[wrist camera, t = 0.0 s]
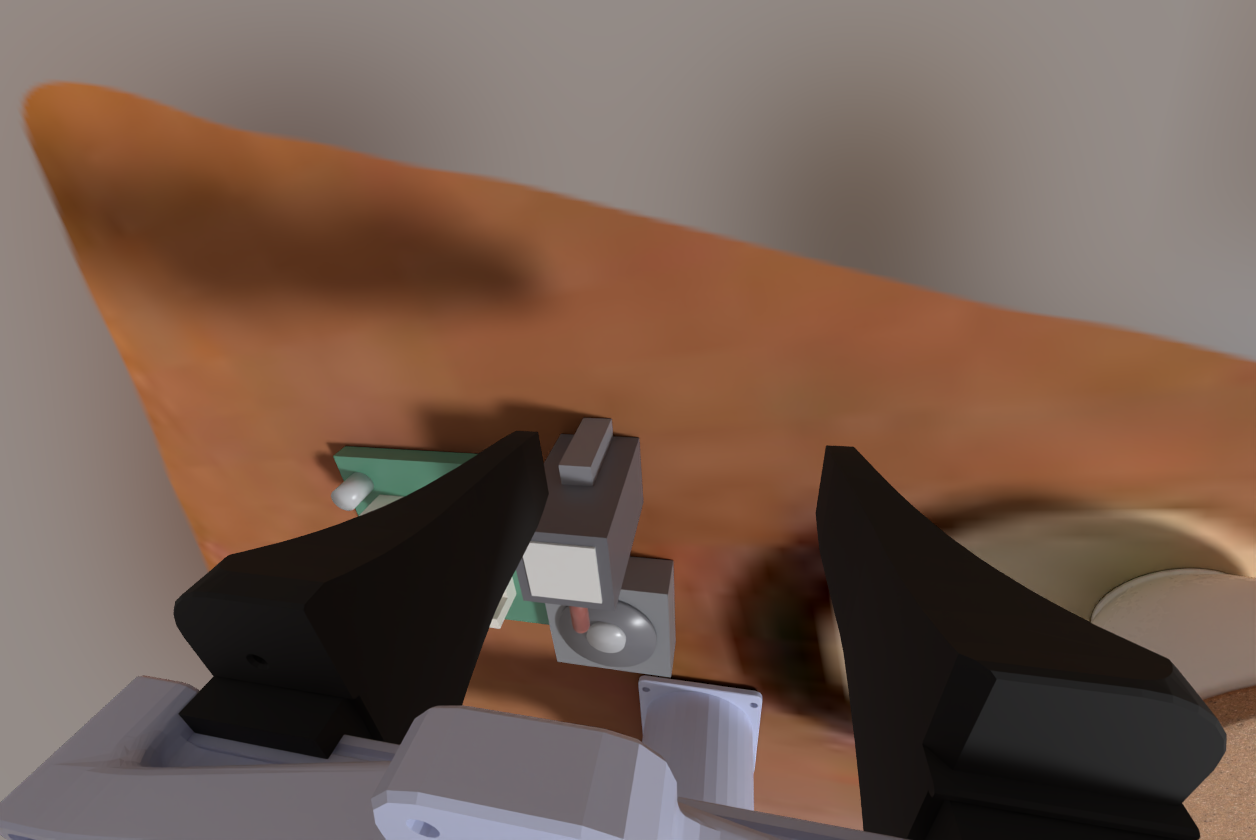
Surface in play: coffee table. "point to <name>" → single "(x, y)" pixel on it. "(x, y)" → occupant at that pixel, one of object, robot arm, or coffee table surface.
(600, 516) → the plug
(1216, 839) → the lidded jar
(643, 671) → the grey dished knob block
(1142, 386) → the coffee table surface
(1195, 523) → the coffee table surface
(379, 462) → the board
